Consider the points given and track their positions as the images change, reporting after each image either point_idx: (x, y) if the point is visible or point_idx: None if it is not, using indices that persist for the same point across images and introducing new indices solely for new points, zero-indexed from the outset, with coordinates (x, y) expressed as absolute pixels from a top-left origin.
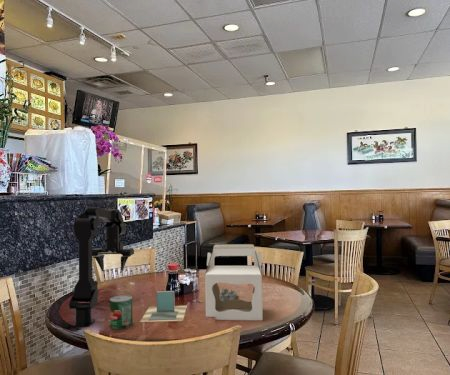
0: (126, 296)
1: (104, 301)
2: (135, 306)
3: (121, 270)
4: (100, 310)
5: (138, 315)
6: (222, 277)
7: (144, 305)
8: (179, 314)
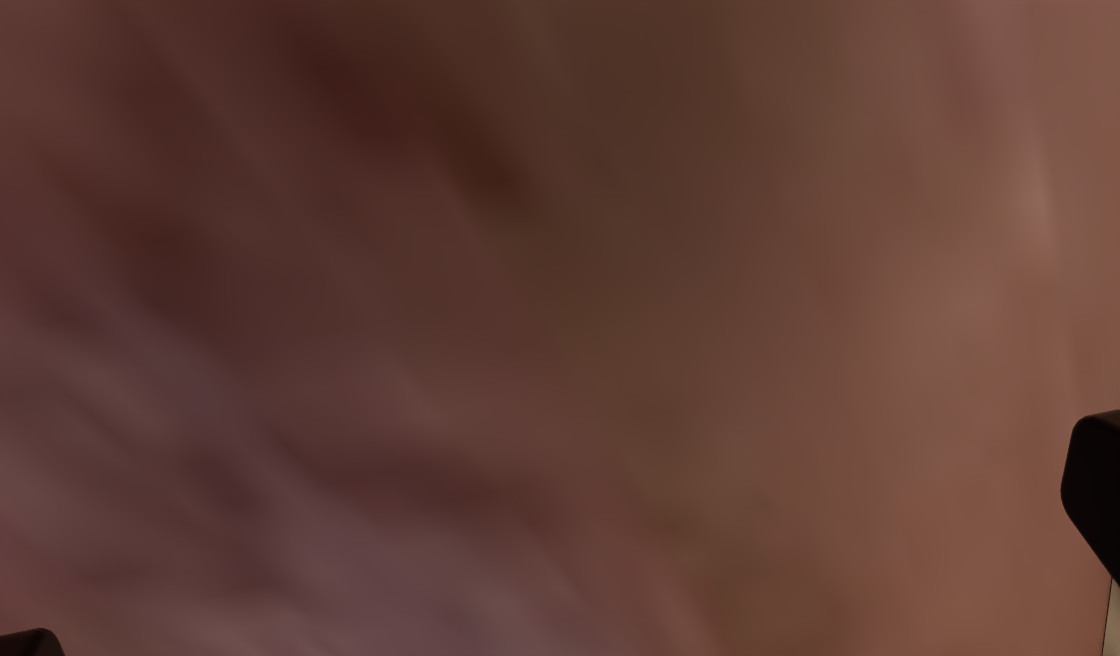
0: None
1: (212, 107)
2: (930, 282)
3: (1088, 530)
4: (473, 548)
5: (1037, 568)
6: None
7: (1055, 211)
8: None
